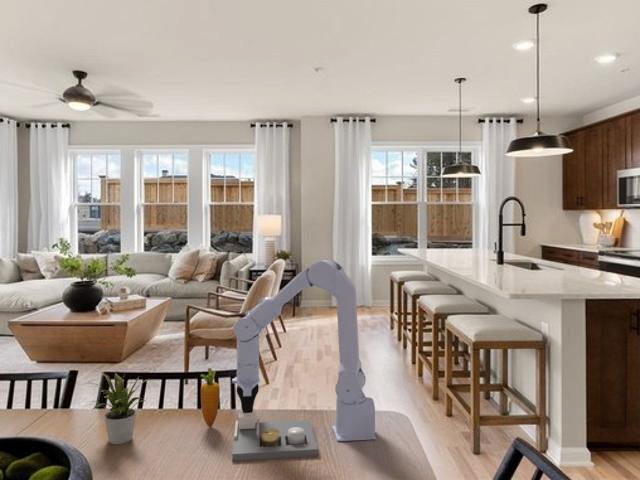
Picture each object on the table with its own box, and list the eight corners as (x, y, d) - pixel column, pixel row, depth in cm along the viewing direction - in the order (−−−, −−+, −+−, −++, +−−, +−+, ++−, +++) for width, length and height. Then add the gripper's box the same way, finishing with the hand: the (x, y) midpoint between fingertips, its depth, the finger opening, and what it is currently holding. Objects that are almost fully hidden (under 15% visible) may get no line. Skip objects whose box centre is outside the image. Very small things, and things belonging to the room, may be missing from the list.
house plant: (69, 444, 110) (68, 375, 109) (119, 422, 122) (118, 360, 122) (110, 458, 103) (109, 385, 103) (158, 434, 115) (158, 368, 115)
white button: (303, 437, 112) (303, 426, 112) (305, 444, 108) (305, 434, 108) (287, 438, 111) (287, 427, 111) (288, 445, 107) (288, 435, 107)
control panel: (309, 425, 121) (309, 416, 121) (318, 455, 105) (318, 445, 105) (235, 429, 118) (235, 420, 118) (232, 460, 103) (232, 450, 103)
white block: (255, 424, 117) (255, 412, 117) (255, 428, 115) (255, 416, 115) (239, 425, 117) (239, 413, 117) (238, 429, 114) (238, 417, 114)
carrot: (215, 432, 117) (215, 372, 116) (196, 430, 118) (196, 371, 117) (223, 424, 121) (223, 367, 121) (205, 422, 122) (205, 365, 122)
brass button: (278, 438, 111) (278, 428, 111) (279, 446, 107) (279, 435, 107) (261, 439, 110) (261, 428, 110) (261, 447, 106) (262, 436, 106)
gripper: (233, 355, 128) (233, 404, 129) (230, 371, 114) (230, 426, 115) (259, 354, 129) (259, 402, 130) (259, 370, 115) (259, 424, 115)
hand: (247, 413), depth 122 cm, fingers closed
